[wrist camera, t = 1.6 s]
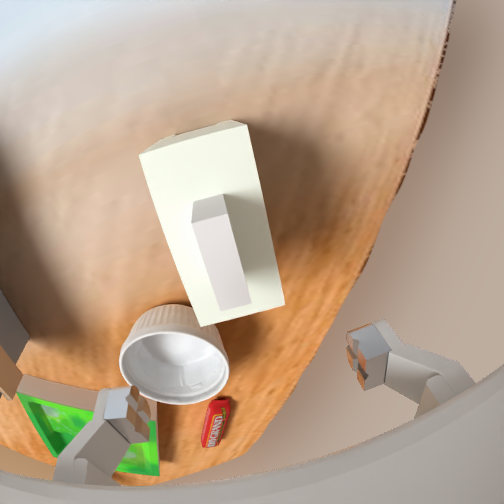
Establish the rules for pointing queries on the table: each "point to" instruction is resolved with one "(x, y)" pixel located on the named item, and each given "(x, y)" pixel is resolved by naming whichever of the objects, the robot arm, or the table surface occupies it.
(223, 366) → the ramekin
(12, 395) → the wall board
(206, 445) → the candy bar
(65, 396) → the tray
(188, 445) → the table surface
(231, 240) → the off-white handled block
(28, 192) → the table surface
